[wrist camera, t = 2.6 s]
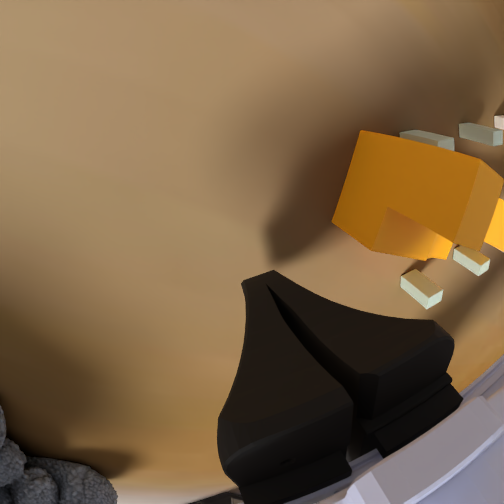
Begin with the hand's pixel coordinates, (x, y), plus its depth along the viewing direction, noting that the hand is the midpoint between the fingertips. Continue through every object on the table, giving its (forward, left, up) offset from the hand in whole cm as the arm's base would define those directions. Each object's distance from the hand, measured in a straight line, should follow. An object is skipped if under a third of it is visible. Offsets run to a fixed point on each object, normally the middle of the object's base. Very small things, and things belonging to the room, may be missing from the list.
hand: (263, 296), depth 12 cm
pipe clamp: (0, -10, -2) cm, 11 cm away
